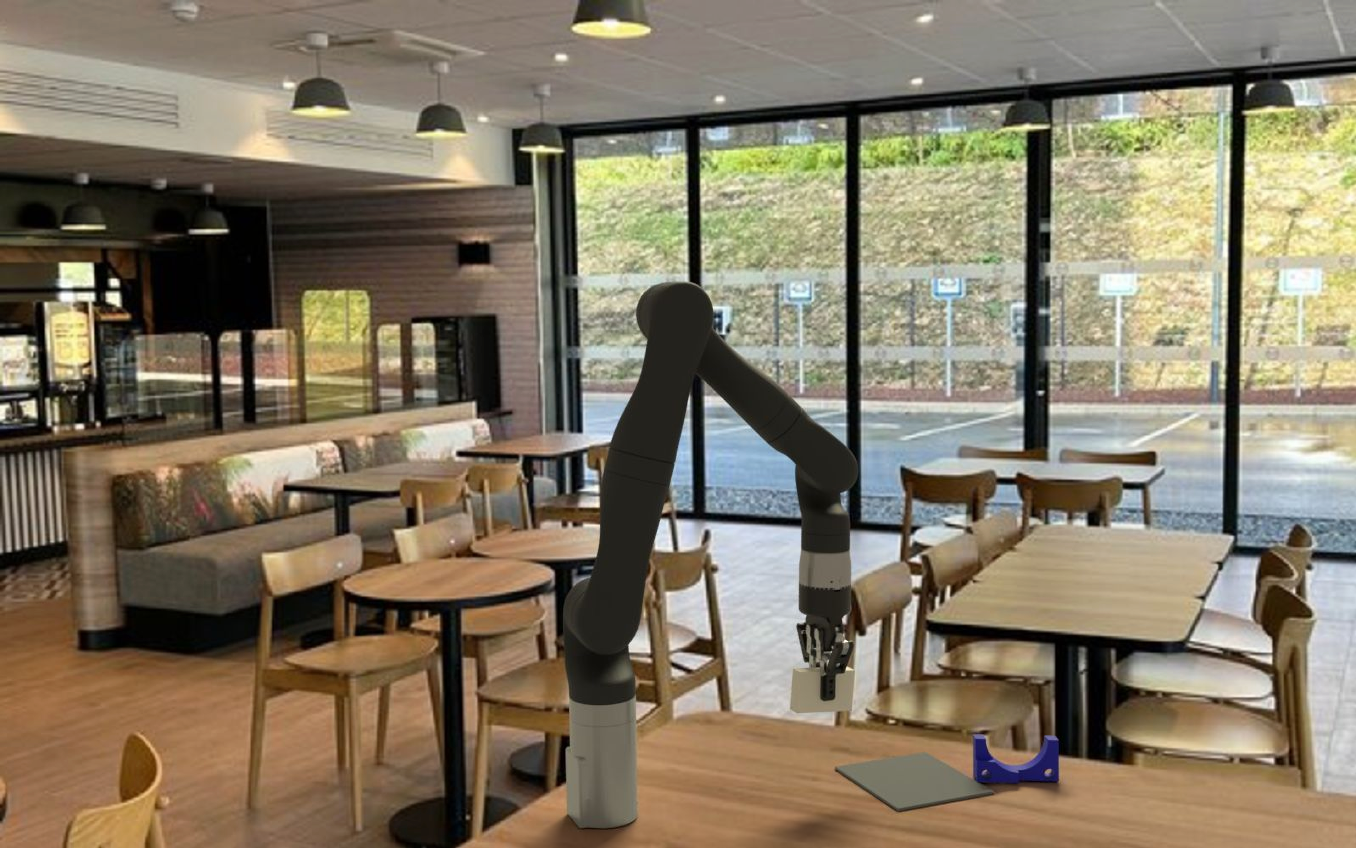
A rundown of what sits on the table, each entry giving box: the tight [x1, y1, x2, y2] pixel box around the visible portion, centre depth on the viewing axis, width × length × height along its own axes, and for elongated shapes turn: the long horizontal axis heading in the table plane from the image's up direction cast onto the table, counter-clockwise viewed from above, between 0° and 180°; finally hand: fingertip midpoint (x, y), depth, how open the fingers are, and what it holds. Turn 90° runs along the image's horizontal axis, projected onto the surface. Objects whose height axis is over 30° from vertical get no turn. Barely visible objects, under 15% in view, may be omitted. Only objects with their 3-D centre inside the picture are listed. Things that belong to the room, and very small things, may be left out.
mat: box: [834, 751, 995, 812], centre depth 195 cm, size 16×18×1 cm
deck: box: [789, 666, 856, 714], centre depth 192 cm, size 9×2×6 cm, turn 112°
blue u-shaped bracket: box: [972, 733, 1060, 784], centre depth 195 cm, size 12×4×6 cm, turn 85°
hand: (823, 697), depth 192 cm, fingers closed on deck, 2 cm apart
